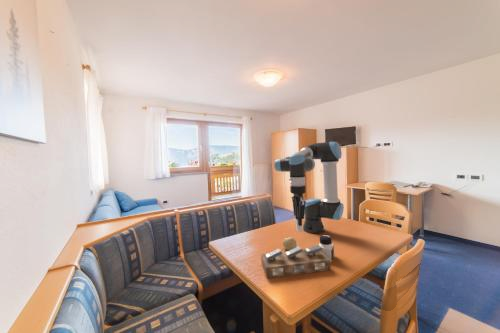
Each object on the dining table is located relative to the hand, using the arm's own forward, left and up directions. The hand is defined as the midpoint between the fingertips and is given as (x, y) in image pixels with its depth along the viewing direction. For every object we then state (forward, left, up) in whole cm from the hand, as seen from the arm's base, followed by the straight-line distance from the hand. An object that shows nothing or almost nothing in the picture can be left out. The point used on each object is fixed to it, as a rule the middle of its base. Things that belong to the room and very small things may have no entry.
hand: (299, 231), depth 100 cm
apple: (-1, -19, -19) cm, 27 cm away
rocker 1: (+14, 0, -11) cm, 17 cm away
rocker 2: (+3, 0, -11) cm, 11 cm away
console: (+3, 0, -18) cm, 19 cm away
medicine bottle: (-17, -5, -19) cm, 26 cm away
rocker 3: (-7, 0, -11) cm, 13 cm away
